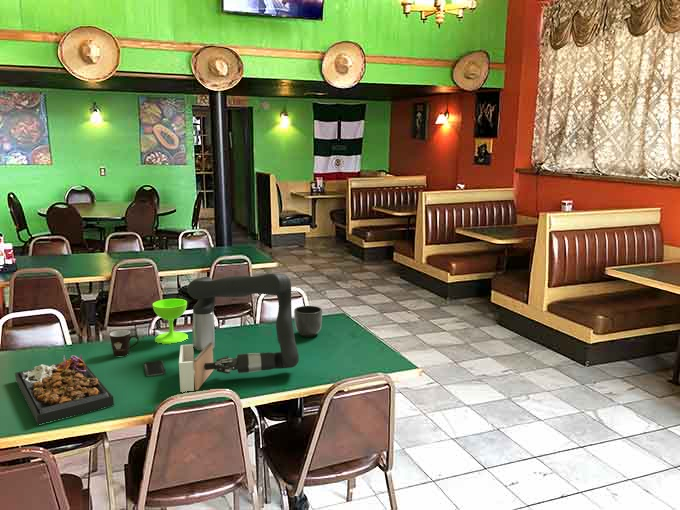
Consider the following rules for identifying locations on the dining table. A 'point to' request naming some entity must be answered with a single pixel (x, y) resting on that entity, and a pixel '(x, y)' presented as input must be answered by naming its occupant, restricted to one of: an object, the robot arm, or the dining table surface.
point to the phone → (154, 368)
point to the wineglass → (170, 319)
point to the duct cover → (203, 365)
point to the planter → (308, 320)
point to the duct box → (186, 368)
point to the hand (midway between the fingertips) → (205, 366)
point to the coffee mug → (121, 342)
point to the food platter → (62, 390)
